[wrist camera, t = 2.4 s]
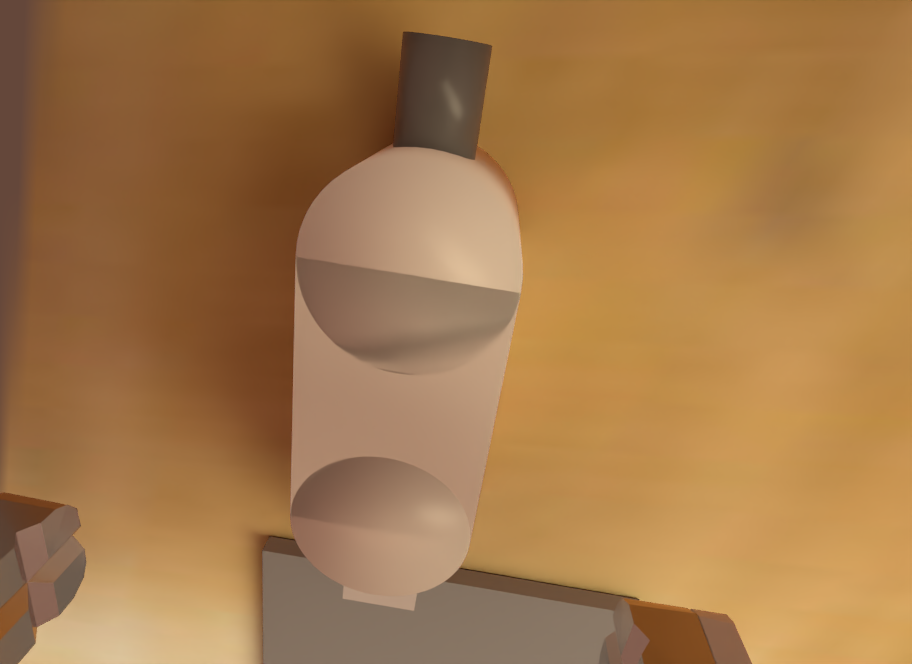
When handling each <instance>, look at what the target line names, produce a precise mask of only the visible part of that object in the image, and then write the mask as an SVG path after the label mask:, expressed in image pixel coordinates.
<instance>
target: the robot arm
mask: <svg viewBox="0 0 912 664" xmlns="http://www.w3.org/2000/svg"><path fill="white" fill-rule="evenodd" d="M80 526H81V525H80V520H79V516H78V511H77V508H74V507H72V506H69V505H65V504H60V503H55V502H50V501H45V500H40V499H35V498H30V497H25V496H20V495H15V494H9V493H1V492H0V664H18V663H19V662H20V661H21V659H22V658H23V657H24V656H25V655H26V654H27V652H28V651H29V650H30V649H31V648H32V647H33V646H34V644H35V643H36V632H37V627H38V626H40V625H42V624H44V623H46V622H48V621H50V620H51V619H53V618H55V617H57V616H59V615H60V614H61V613H62V611H63V610H64V609H65V608H66V607H67V605H68V604H69V603H70V602H71V600H72V599H73V598H74V596H75V594H76V592H77V590H78V588H79V586H80V584H81V582H82V580H83V578H84V572H85V566H86V557H85V549H84V548H83V547H82V546H81V544H80V543H79V542H78V541H77V540H76V539H75V538H74V537H73V534H74V533H75V532H76V531H77V530H78V528H79V527H80ZM613 621H614V626H615V631H614V632H613V633H611V634H610V635H608V636H607V637H605V639H604V642H603V646H602V649H601V652H600V658H599V664H752V663H751V660H750V658H749V656H748V654H747V651H746V649H745V647H744V645H743V642H742V640H741V638H740V636H739V633H738V631H737V629H736V627H735V624H734V622H733V621H732V620H731V619H730V618H729V617H728V616H727V615H726V614H720V613H714V612H707V611H701V610H695V609H690V610H689V609H688V608H683V607H677V606H670V605H664V604H658V603H651V602H645V601H639V600H632V599H626V598H622V599H621V600H620V601H619V602H618V603H617V605H616V608H615V611H614V614H613Z"/></svg>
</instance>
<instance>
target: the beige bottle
mask: <svg viewBox="0 0 912 664" xmlns="http://www.w3.org/2000/svg"><path fill="white" fill-rule="evenodd" d="M491 50H492V46H491V45H487V44H483V43H478V42H473V41H468V40H462V39H457V38H451V37H444V36H438V35H431V34H423V33H415V32H403V39H402V51H401V62H400V73H399V84H398V95H397V107H396V118H395V129H394V140H393V144H391V145H389V146H387V147H386V148H384V149H382V150H381V151H379V152H377V153H375V154H374V155H372V156H370V157H369V158H367V159H365V160H363V161H362V162H360V163H358V164H357V165H355V166H353V167H352V168H350V169H348V170H346V171H345V172H343V173H342V174H340V175H339V176H338V177H336V178H335V179H333V180H332V181H331V182H330V183H329V184H328V185H327V186H326V187H325V188H324V189H323V190H322V191H321V192H320V193H319V194H318V196H317V197H316V198H315V200H314V201H313V202H312V204H311V206H310V207H309V209H308V211H307V213H306V215H305V217H304V220H303V222H302V225H301V227H300V231H299V235H298V240H297V246H296V262H295V310H294V359H293V408H292V457H291V506H290V519H291V528H292V532H293V535H294V538H295V540H296V543H297V544H298V546H299V548H300V550H301V551H302V553H303V554H304V555H305V557H306V558H307V559H308V560H309V561H310V562H311V564H312V565H313V566H314V567H316V568H317V569H318V570H319V571H320V572H322V573H323V574H324V575H326V576H327V577H329V578H330V579H332V580H334V581H336V582H337V583H339V584H341V585H343V586H344V587H343V599H348V600H354V601H359V602H365V603H371V604H377V605H383V606H388V607H394V608H400V609H406V610H412V611H414V608H415V602H416V596H417V593H420V592H424V591H427V590H429V589H432V588H434V587H436V586H438V585H440V584H441V583H443V582H445V581H446V580H447V579H449V578H450V577H451V576H452V575H453V574H454V573H455V572H456V571H457V570H458V569H459V567H460V566H461V565H462V563H463V561H464V559H465V557H466V555H467V552H468V549H469V545H470V540H471V535H472V531H473V526H474V521H475V516H476V511H477V506H478V501H479V496H480V491H481V486H482V481H483V477H484V472H485V467H486V462H487V457H488V452H489V447H490V442H491V437H492V432H493V427H494V423H495V418H496V413H497V408H498V403H499V398H500V393H501V388H502V383H503V378H504V373H505V368H506V364H507V359H508V354H509V349H510V344H511V339H512V334H513V329H514V324H515V319H516V314H517V310H518V305H519V300H520V295H521V288H522V281H523V263H522V251H521V238H520V226H519V214H518V207H517V201H516V197H515V194H514V190H513V188H512V186H511V183H510V181H509V179H508V178H507V176H506V174H505V173H504V171H503V169H502V168H501V167H500V166H499V164H498V163H497V162H496V161H495V160H494V159H493V158H492V157H491V156H490V155H489V154H488V153H487V152H485V151H484V150H482V149H481V148H480V147H478V146H477V143H478V136H479V130H480V123H481V116H482V110H483V103H484V96H485V90H486V83H487V76H488V70H489V63H490V56H491Z"/></svg>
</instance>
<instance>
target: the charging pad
mask: <svg viewBox="0 0 912 664" xmlns="http://www.w3.org/2000/svg"><path fill="white" fill-rule="evenodd" d="M262 562H263V664H599V658H600V652H601V649H602V646H603V642H604V639H605V637H607V636H608V635H610V634H611V633H613V632H614V631H615V626H614V621H613V614H614V611H615V608H616V605H617V603H618V602H619V601H620V600H621V599H622V598H626V599H632V600H639V599H634V598H628V597H622V596H616V595H610V594H605V593H599V592H593V591H587V590H581V589H575V588H570V587H564V586H558V585H552V584H546V583H540V582H534V581H529V580H523V579H517V578H511V577H505V576H499V575H493V574H488V573H482V572H476V571H470V570H464V569H458V570H457V571H456V572H455V573H454V574H453V575H452V576H451V577H450V578H449V579H447V580H446V581H445V582H443V583H441V584H440V585H438V586H436V587H434V588H432V589H429V590H427V591H424V592H420V593H417V596H416V602H415V608H414V611H412V610H406V609H400V608H394V607H388V606H383V605H377V604H371V603H365V602H359V601H354V600H348V599H343V587H344V586H343V585H341V584H339V583H337V582H336V581H334V580H332V579H330V578H329V577H327V576H326V575H324V574H323V573H322V572H320V571H319V570H318V569H317V568H316V567H314V566H313V565H312V564H311V562H310V561H309V560H308V559H307V558H306V557H305V555H304V554H303V553H302V551H301V550H300V548H299V546H298V544H297V543H296V541H295V540H289V539H283V538H277V537H271V536H270V537H269V539H268V541H267V543H266V545H265V546H264V548H263V550H262Z"/></svg>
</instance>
